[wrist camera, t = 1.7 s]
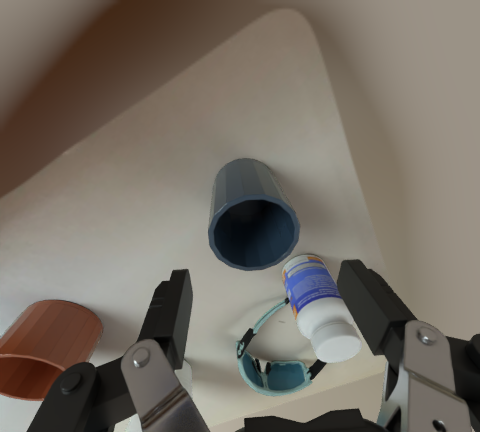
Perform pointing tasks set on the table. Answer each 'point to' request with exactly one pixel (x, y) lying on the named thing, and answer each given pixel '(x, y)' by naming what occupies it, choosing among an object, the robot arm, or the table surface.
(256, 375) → the sunglasses
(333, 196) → the table surface
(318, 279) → the pill bottle
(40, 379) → the terracotta cup
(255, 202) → the slate cup
